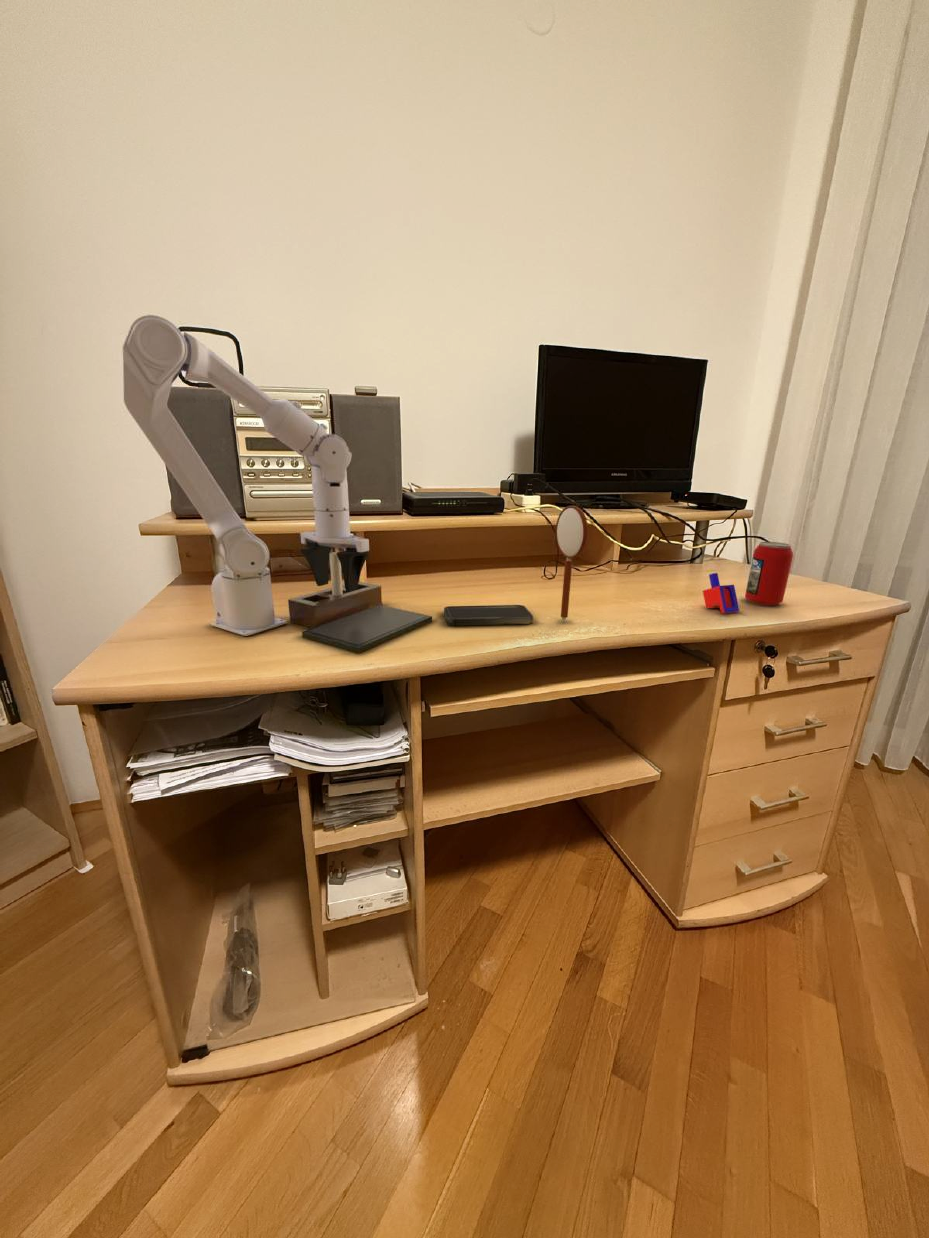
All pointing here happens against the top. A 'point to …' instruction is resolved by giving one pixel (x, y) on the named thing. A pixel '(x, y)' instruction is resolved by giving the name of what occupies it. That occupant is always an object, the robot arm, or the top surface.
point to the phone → (487, 615)
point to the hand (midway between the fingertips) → (336, 587)
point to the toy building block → (721, 596)
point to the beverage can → (769, 573)
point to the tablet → (367, 628)
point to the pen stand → (332, 604)
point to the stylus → (335, 574)
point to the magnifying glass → (570, 545)
